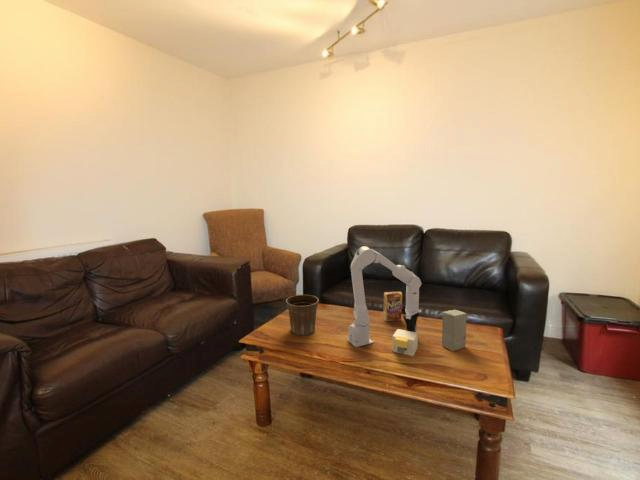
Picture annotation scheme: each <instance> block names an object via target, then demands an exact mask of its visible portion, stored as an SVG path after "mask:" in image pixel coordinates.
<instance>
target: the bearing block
mask: <svg viewBox="0 0 640 480" xmlns="http://www.w3.org/2000/svg"><path fill="white" fill-rule="evenodd" d="M397 336H401V337H405V338H409V345H408V347H407V349H406V350H405V352H404V353H401V354H402V355H406V356H407V355H408V356H412V357H414V356H415V354H416V352H417V349H418V346H419V345H418V344H419V343H418V342H419V341H418V340H419V332H417V331H416V332H411V331H406V329H399V328H397V329H396V330H395V332H394V334H393V335H392V344H391V345H392V347H391V348H392V350H391V351H392V352H394V353H397V354H400V353H399V352H397V348H398V347H397V346H395V338H396V337H397Z"/></svg>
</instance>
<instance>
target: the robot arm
mask: <svg viewBox="0 0 640 480" xmlns="http://www.w3.org/2000/svg"><path fill="white" fill-rule="evenodd" d="M372 263H374V264H378V263H379V264H381V265H382V266H384V267H386V268H387V269H389V270H390V271H391V272H392V276H394V277H395V278H396V279H398V280H400V281H401V282H403V283H404V284H405V286H406V287H405V288H406V289H405V309H404V311H405V314H404V315H403V316H402V318H403V321H404V322H405V327H406V326H407V331H411V332H412V330H413V326H414V324H417V321H418V318H419V315H420V313H422V310H421V309H419V308H420V307H419V306H420V305H419V303H420V302H419V301H420V288H421V286H422V285H423V283H422V282H421V279H420V277H419V276H417V275H416V274H415V273H414V272H413V271H410V270H409V269H407V268H406V266H405V265H403V264H402V265H401V264H395V263H394V262H393V261H391V260H389V259H388V258H387V257H385V256H384V255H382V254H381V253H380V252H378V251H376V250H375V249H372V248H371V249H370V247H368V246H367V245H366V246H365V245H364V246H360V247H359V248H358V249H357V250H356V251H355V254H354V257H353V258H352V261H351V263H350V267H349V268H350V272H351V273H350V275H351V283H352V284H351V285H352V290H353V292H352V293H353V297H354V304H353V306H354V308H353V311H352V315H353V317H354V320H353V323H352V324H349V325H348V327H347V339H346V340H347V342H349V343H350V344H351V345H353V346H354V347H356V348H357V347H361V346H366V345H370V344H373V343H374V341H373V340H372V339H370V322H371V316H370V315H369V312H368V306H367V304H366V296H365V289H364V287H365V286H364V280H363V279H364V278H363V277H364V276H363V270H364V268H366V267H367V266H369V265H370V264H372Z"/></svg>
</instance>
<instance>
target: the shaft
mask: <svg viewBox="0 0 640 480" xmlns="http://www.w3.org/2000/svg"><path fill="white" fill-rule="evenodd" d="M405 327H406V329H405V330H406V331H407V326H406V325H405ZM417 327H418V326H417V323H416V324H414V326H413V330H412V332H416V333H417ZM405 350H406V348H402V347H398V348H397V352H396V353H398V352H399V353H398V354H402V353H404V352H405Z"/></svg>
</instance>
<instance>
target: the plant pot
mask: <svg viewBox="0 0 640 480" xmlns="http://www.w3.org/2000/svg"><path fill="white" fill-rule="evenodd" d="M319 301H320V300H319V298H318V297H317V296H315V295H311V294H297V295H292V296H289V297H288V298H286V299H285V302H286V305H287V311H288V316H289V325H290V331H291V333H292V334H295V335H296V336H308V335H311V334H313V333H314V332H315V331H316V322H317V319H316V318H317V309H318V305H319Z"/></svg>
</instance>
